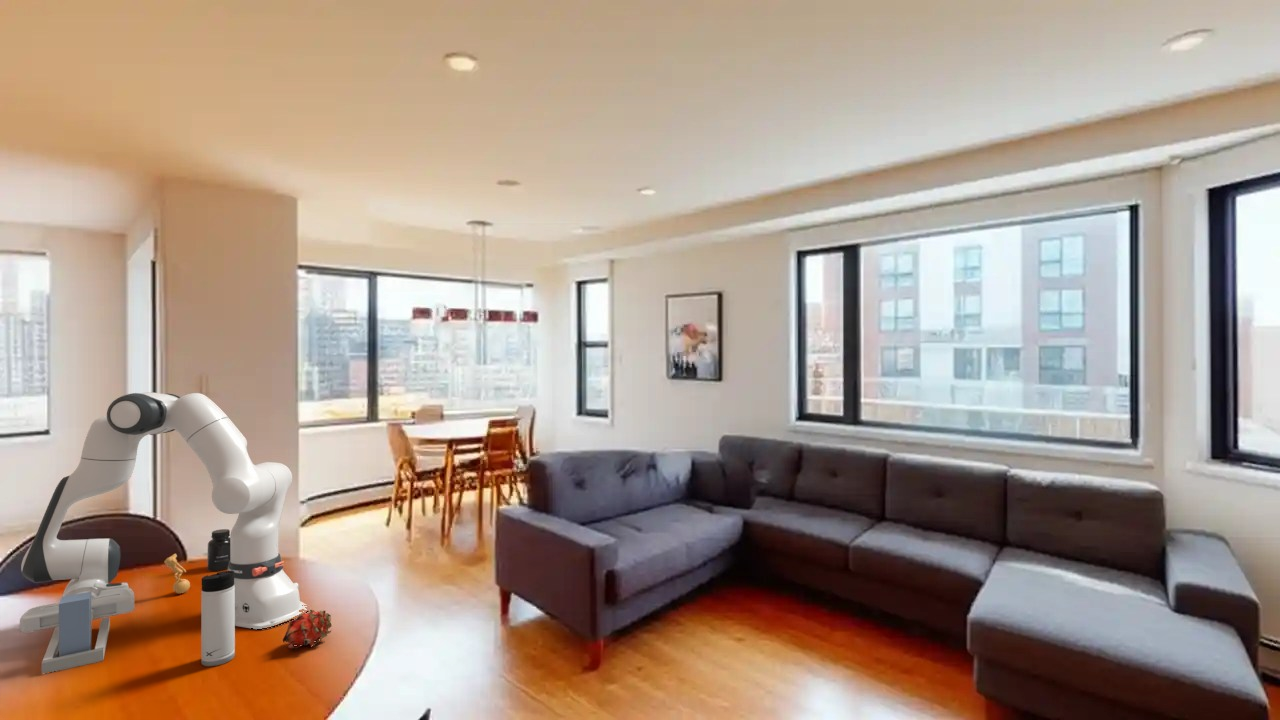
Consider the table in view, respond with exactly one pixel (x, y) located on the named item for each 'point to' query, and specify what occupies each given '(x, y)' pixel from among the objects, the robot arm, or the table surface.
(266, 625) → the robot arm
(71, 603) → the block
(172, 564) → the figurine
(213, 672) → the table surface
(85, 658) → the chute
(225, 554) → the supplement bottle
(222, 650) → the travel mug
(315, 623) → the dragon fruit
